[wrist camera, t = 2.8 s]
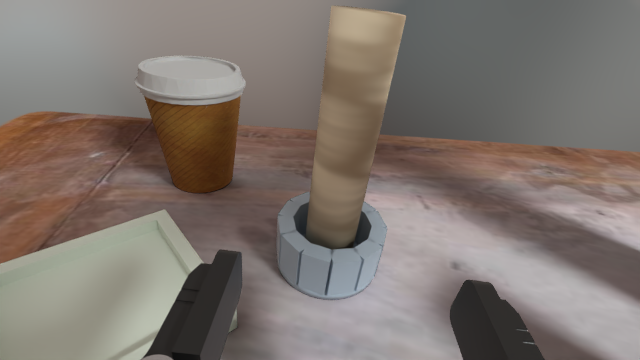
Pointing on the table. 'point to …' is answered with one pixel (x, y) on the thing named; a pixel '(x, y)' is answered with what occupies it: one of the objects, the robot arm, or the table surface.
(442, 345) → the table surface
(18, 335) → the tray
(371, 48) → the dowel
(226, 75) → the disposable coffee cup
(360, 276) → the holder
